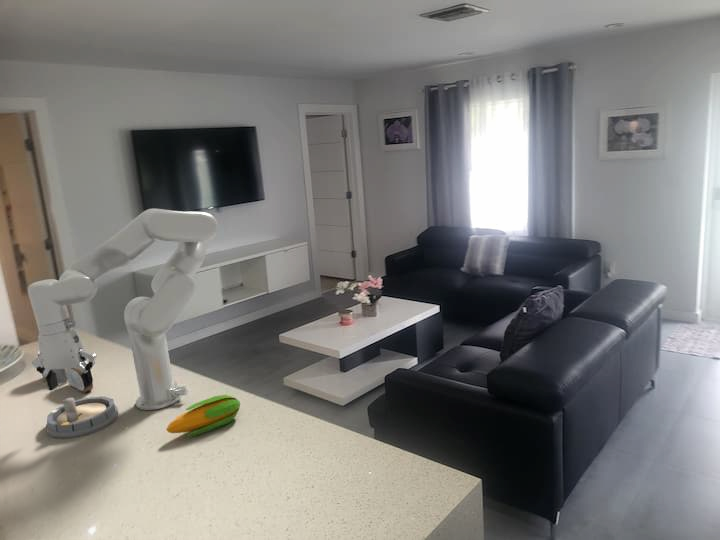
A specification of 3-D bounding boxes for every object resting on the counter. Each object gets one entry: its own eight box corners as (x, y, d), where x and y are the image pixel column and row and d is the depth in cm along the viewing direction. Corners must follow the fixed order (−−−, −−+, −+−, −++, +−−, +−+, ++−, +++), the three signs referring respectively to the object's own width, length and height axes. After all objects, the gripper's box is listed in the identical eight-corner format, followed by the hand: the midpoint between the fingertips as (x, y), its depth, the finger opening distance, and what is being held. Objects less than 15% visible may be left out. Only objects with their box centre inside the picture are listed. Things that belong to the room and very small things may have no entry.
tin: (95, 392, 173) (90, 367, 171) (85, 396, 171) (80, 370, 169) (75, 381, 183) (70, 358, 181) (65, 385, 180) (60, 361, 179)
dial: (75, 406, 160) (71, 384, 158) (115, 405, 158) (111, 383, 157) (47, 428, 148) (41, 404, 146) (90, 427, 146) (85, 403, 145)
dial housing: (129, 405, 161) (127, 393, 161) (98, 437, 144) (95, 424, 143) (70, 408, 163) (68, 396, 162) (32, 440, 145) (29, 427, 144)
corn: (243, 392, 146) (169, 419, 134) (247, 419, 147) (174, 448, 135) (231, 386, 151) (159, 411, 140) (235, 412, 153) (164, 439, 141)
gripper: (94, 318, 146) (109, 377, 150) (32, 325, 147) (49, 383, 152) (79, 329, 139) (95, 390, 143) (14, 335, 140) (32, 396, 144)
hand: (71, 386), depth 147 cm, fingers open, 9 cm apart
